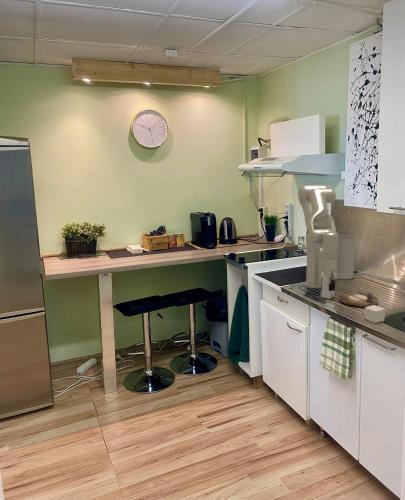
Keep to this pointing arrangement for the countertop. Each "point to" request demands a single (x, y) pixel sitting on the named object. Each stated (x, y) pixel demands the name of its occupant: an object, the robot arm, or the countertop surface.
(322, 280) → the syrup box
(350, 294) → the turntable
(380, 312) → the white cube
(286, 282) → the countertop surface
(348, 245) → the cylinder vase
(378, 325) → the countertop surface
